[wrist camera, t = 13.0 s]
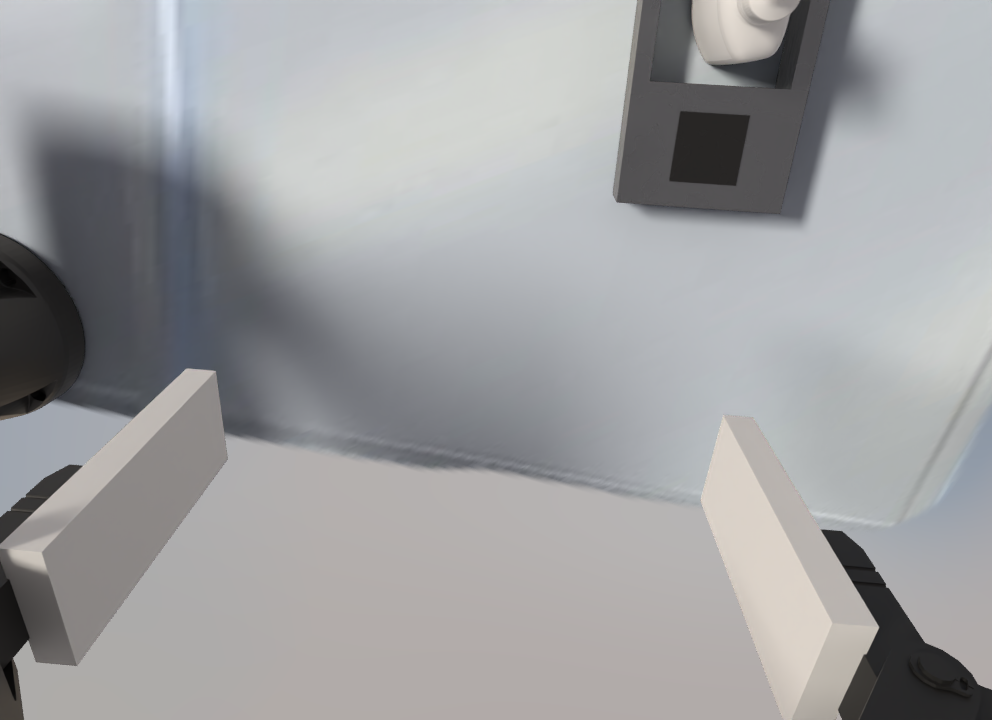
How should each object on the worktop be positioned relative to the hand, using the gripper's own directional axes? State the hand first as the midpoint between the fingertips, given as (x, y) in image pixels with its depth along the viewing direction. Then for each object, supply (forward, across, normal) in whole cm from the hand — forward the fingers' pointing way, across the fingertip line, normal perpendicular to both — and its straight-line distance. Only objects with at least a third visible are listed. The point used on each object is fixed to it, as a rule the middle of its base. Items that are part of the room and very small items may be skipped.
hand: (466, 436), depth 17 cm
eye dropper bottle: (+30, +12, +12) cm, 34 cm away
